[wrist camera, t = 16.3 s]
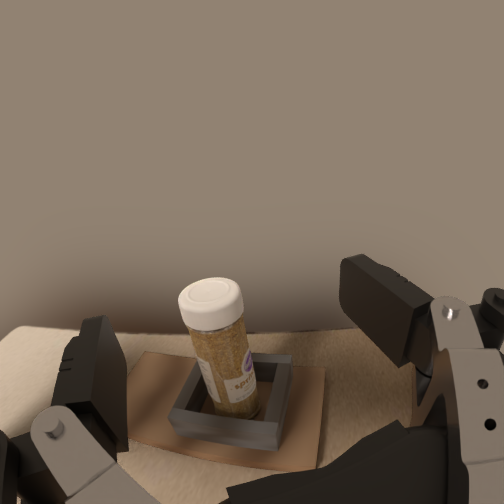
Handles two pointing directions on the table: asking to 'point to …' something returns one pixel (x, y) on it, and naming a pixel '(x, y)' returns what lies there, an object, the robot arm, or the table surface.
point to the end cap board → (224, 428)
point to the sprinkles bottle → (221, 345)
